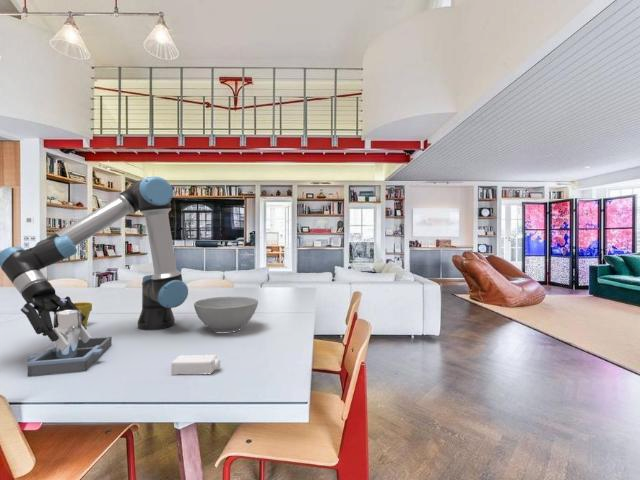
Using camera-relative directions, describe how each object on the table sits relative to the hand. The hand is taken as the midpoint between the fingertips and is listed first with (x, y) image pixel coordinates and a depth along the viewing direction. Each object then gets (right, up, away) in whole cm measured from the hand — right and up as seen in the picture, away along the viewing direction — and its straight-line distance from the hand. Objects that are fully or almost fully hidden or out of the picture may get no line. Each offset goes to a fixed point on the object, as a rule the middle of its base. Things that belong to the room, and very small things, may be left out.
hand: (76, 343), depth 100 cm
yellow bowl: (-34, -7, +46) cm, 57 cm away
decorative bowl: (+33, -8, +43) cm, 55 cm away
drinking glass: (-4, -6, +1) cm, 7 cm away
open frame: (-5, -7, +6) cm, 11 cm away
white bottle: (+37, -8, -3) cm, 38 cm away
